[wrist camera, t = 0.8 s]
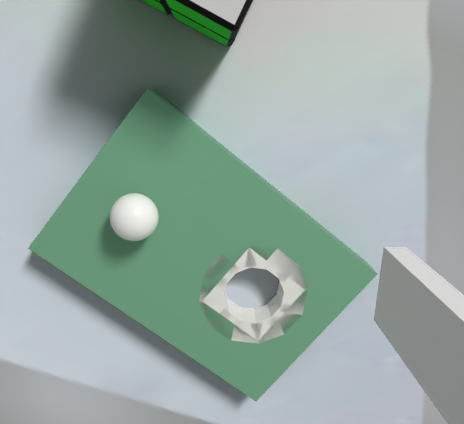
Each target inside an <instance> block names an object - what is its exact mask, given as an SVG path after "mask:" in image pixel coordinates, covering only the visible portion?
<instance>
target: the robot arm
mask: <svg viewBox="0 0 464 424" xmlns="http://www.w3.org/2000/svg"><path fill="white" fill-rule="evenodd" d="M374 321H375V322H376V323H377V325H378V326H379V328H380V329H381V330H382V332H383V333H384V335H385V336H386V338H387V339H388V340H389V342H390V343H391V345H392V346H393V347H394V349H395V350H396V352H397V353H398V354H399V356H400V357H401V359H402V360H403V362H404V363H405V364H406V366H407V367H408V369H409V370H410V371H411V373H412V374H413V376H414V377H415V378H416V380H417V381H418V383H419V384H420V385H421V387H422V388H423V390H424V391H425V393H426V394H427V395H428V397H429V398H430V400H431V401H432V402H433V404H434V405H435V407H436V408H437V409H438V411H439V412H440V414H441V415H442V416H443V418H444V419H445V421H446V422H447V423H448V424H464V295H463V294H462V293H460V292H459V291H458V290H457V289H456V288H454V287H453V286H452V285H451V284H450V283H448V282H447V281H446V280H445V279H444V278H442V277H441V276H440V275H439V274H438V273H436V272H435V271H434V270H433V269H432V268H430V267H429V266H428V265H427V264H426V263H424V262H423V261H422V260H421V259H420V258H418V257H417V256H416V255H415V254H414V253H412V252H411V251H410V250H409V249H408V248H406V247H384V250H383V257H382V265H381V272H380V279H379V286H378V294H377V301H376V308H375V315H374Z"/></svg>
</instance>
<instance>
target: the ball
mask: <svg viewBox="0 0 464 424" xmlns="http://www.w3.org/2000/svg"><path fill="white" fill-rule="evenodd" d="M158 219H159V215H158V210H157V207H156V205H155V204H154V202H153V201H152V200H151V199H150V198H148V197H147V196H145V195H142V194H138V193H131V194H126V195H124V196H122V197H120V198H119V199H118V200H117V201H116V202H115V203H114V204H113V206H112V208H111V211H110V223H111V226H112V228H113V230H114V231H115V233H116V234H117V235H118V236H120V237H121V238H123V239H125V240H129V241H139V240H143V239H145V238H147V237H148V236H150V235H151V234H152V233H153V232H154V230H155V229H156V227H157V224H158Z"/></svg>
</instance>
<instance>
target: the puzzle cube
mask: <svg viewBox="0 0 464 424" xmlns="http://www.w3.org/2000/svg"><path fill="white" fill-rule="evenodd" d="M141 1H143V2H144V3H146V4H148V5H150V6H152V7H154V8H155V9H157V10H159V11H161V12H163V13H165V14H167V15H169V14H171V13H172V14H173V16H174V18H175V19H176V20H178V21H180V22H182V23H184V24H186V25H187V26H189V27H191V28H193V29H195V30H197V31H199V32H200V33H202V34H204V35H206V36H208V37H210V38H212V39H213V40H215V41H217V42H219V43H221V44H223V45H225V46H226V47H227V46H230V45H232V44H233V42H234V40H235V38H236V36H237V33H238V31H239V29H240V27H241V25H242V23H243V21H244V19H245V17H246V14H247V12H248V10H249V8H250V6H251V4H252V2H253V0H141Z"/></svg>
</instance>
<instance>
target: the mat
mask: <svg viewBox="0 0 464 424" xmlns="http://www.w3.org/2000/svg"><path fill="white" fill-rule="evenodd" d="M131 193H138V194H142V195H145V196H147V197H148V198H150V199H151V200H152V201H153V202H154V204H155V205H156V207H157V210H158V215H159V219H158V224H157V227H156V229H155V230H154V232H153V233H152V234H151V235H150V236H148V237H147V238H145V239H143V240H139V241H129V240H125V239H123V238H121V237H120V236H118V235H117V234H116V233H115V231H114V230H113V228H112V226H111V223H110V211H111V208H112V206H113V204H114V203H115V202H116V201H117V200H118V199H119V198H120V197H122V196H124V195H126V194H131ZM28 249H30V250H31V251H33V252H34V253H36V254H37V255H39V256H40V257H42V258H43V259H45V260H46V261H48V262H49V263H51V264H52V265H54V266H55V267H57V268H58V269H60V270H61V271H62V272H64V273H65V274H67V275H68V276H70V277H71V278H73V279H74V280H76V281H77V282H79V283H80V284H82V285H83V286H85V287H86V288H88V289H89V290H91V291H92V292H94V293H95V294H97V295H98V296H100V297H101V298H103V299H104V300H106V301H107V302H109V303H110V304H112V305H113V306H115V307H116V308H118V309H119V310H121V311H122V312H124V313H125V314H127V315H128V316H130V317H131V318H133V319H134V320H135V321H137V322H138V323H140V324H141V325H143V326H144V327H146V328H147V329H149V330H150V331H152V332H153V333H155V334H156V335H158V336H159V337H161V338H162V339H164V340H165V341H167V342H168V343H170V344H171V345H173V346H174V347H176V348H177V349H179V350H180V351H182V352H183V353H185V354H186V355H188V356H189V357H191V358H192V359H194V360H195V361H197V362H198V363H200V364H201V365H203V366H204V367H206V368H207V369H209V370H210V371H211V372H213V373H214V374H216V375H217V376H219V377H220V378H222V379H223V380H225V381H226V382H228V383H229V384H231V385H232V386H234V387H235V388H237V389H238V390H240V391H241V392H243V393H244V394H246V395H247V396H249V397H250V398H252V399H253V400H255V401H257V400H258V399H259V398H260V397H261V396H262V395H263V394H264V393H265V392H266V390H267V389H268V388H269V387H270V386H271V385H272V384H273V383H274V382H275V381H276V380H277V379H278V378H279V377H280V376H281V375H282V374H283V373H284V372H285V371H286V369H287V368H288V367H289V366H290V365H291V364H292V363H293V362H294V361H295V360H296V359H297V358H298V357H299V356H300V355H301V354H302V353H303V352H304V351H305V350H306V348H307V347H308V346H309V345H310V344H311V343H312V342H313V341H314V340H315V339H316V338H317V337H318V336H319V335H320V334H321V333H322V332H323V331H324V330H325V329H326V327H327V326H328V325H329V324H330V323H331V322H332V321H333V320H334V319H335V318H336V317H337V316H338V315H339V314H340V313H341V312H342V311H343V310H344V309H345V308H346V306H347V305H348V304H349V303H350V302H351V301H352V300H353V299H354V298H355V297H356V296H357V295H358V294H359V293H360V292H361V291H362V290H363V289H364V288H365V287H366V285H367V284H368V283H369V282H370V281H371V280H372V279H373V278H374V277H375V276H376V275H377V273H376V272H375V271H374V270H373V269H372V268H371V267H370V265H369V264H368V263H367V262H366V261H364V260H363V259H362V258H361V257H359V256H358V255H357V254H356V253H354V252H353V251H352V250H351V249H349V248H348V247H347V246H346V245H345V244H343V243H342V242H341V241H340V240H338V239H337V238H336V237H335V236H333V235H332V234H331V233H330V232H329V231H327V230H326V229H325V228H324V227H322V226H321V225H320V224H319V223H317V222H316V221H315V220H314V219H312V218H311V217H310V216H309V215H308V214H306V213H305V212H304V211H303V210H301V209H300V208H299V207H298V206H296V205H295V204H294V203H293V202H292V201H290V200H289V199H288V198H287V197H285V196H284V195H283V194H282V193H280V192H279V191H278V190H277V189H276V188H274V187H273V186H272V185H271V184H269V183H268V182H267V181H266V180H264V179H263V178H262V177H261V176H259V175H258V174H257V173H256V172H255V171H253V170H252V169H251V168H250V167H248V166H247V165H246V164H245V163H243V162H242V161H241V160H240V159H239V158H237V157H236V156H235V155H234V154H232V153H231V152H230V151H229V150H227V149H226V148H225V147H224V146H222V145H221V144H220V143H219V142H218V141H216V140H215V139H214V138H213V137H211V136H210V135H209V134H208V133H206V132H205V131H204V130H203V129H202V128H200V127H199V126H198V125H197V124H195V123H194V122H193V121H192V120H190V119H189V118H188V117H187V116H186V115H184V114H183V113H182V112H181V111H179V110H178V109H177V108H176V107H174V106H173V105H172V104H171V103H169V102H168V101H167V100H166V99H165V98H163V97H162V96H161V95H160V94H158V93H157V92H156V91H155V90H153V89H152V88H147V89H146V90H145V92H144V93H143V94H142V96H141V97H140V98H139V100H138V101H137V102H136V104H135V105H134V106H133V108H132V109H131V111H130V112H129V113H128V115H127V116H126V117H125V119H124V120H123V121H122V123H121V124H120V125H119V127H118V128H117V129H116V131H115V132H114V133H113V135H112V136H111V137H110V139H109V140H108V141H107V143H106V144H105V146H104V147H103V148H102V150H101V151H100V152H99V154H98V155H97V156H96V158H95V159H94V160H93V162H92V163H91V164H90V166H89V167H88V168H87V170H86V171H85V172H84V174H83V175H82V177H81V178H80V179H79V181H78V182H77V183H76V185H75V186H74V187H73V189H72V190H71V191H70V193H69V194H68V195H67V197H66V198H65V199H64V201H63V202H62V203H61V205H60V206H59V207H58V209H57V210H56V212H55V213H54V214H53V216H52V217H51V218H50V220H49V221H48V222H47V224H46V225H45V226H44V228H43V229H42V230H41V232H40V233H39V234H38V236H37V237H36V238H35V240H34V241H33V242H32V244H31V245H30V247H29V248H28ZM248 268H259V269H266V270H268V271H269V272H271V273H272V274H273V275H275V276H276V277H277V278H279V280H280V281H279V285H278V290H277V294H276V295H275V296H274V297H273V298H272V299H271V300H270V301H269V303H268V304H265V305H263V306H260V307H257V308H254V309H252V308H244V307H239V306H237V305H236V304H235V303H233V302H232V301H230V300H229V299H228V298H227V295H226V293H225V287H226V284H227V283H228V282H229V281H230V279H231V278H232V277H233V276H234V275H235V274H236V273H238V272H240V271H243V270H246V269H248Z"/></svg>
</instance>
